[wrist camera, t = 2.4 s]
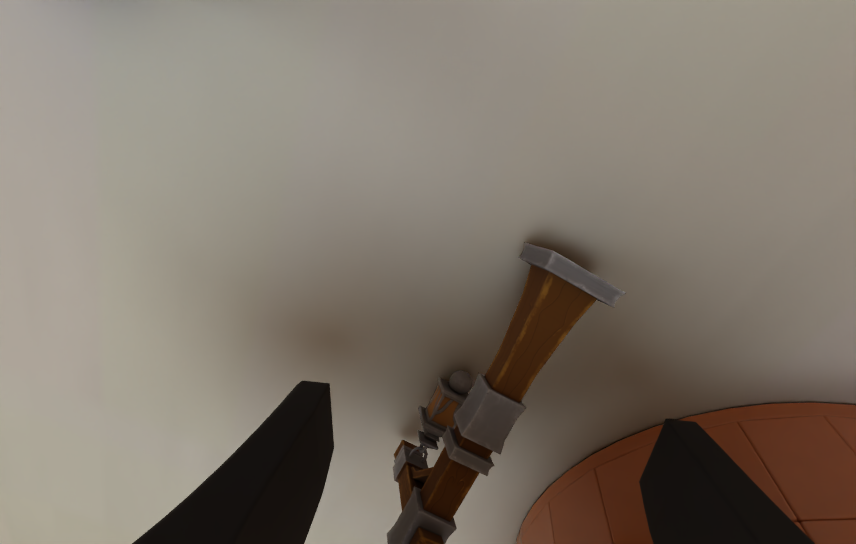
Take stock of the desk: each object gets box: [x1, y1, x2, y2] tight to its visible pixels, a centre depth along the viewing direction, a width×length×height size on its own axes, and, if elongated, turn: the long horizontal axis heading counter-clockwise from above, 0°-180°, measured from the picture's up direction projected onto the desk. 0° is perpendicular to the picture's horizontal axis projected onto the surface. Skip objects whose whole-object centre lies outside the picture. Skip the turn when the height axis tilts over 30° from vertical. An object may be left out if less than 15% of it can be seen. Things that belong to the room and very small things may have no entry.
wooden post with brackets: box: [387, 242, 626, 544], centre depth 12 cm, size 2×8×4 cm, turn 150°
